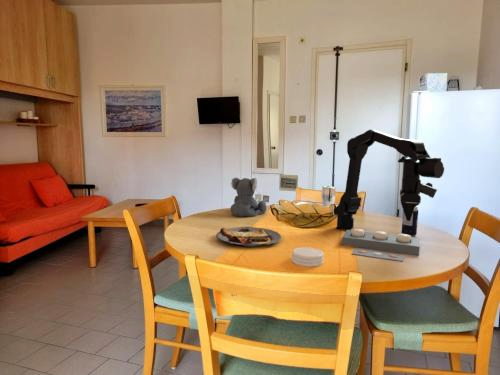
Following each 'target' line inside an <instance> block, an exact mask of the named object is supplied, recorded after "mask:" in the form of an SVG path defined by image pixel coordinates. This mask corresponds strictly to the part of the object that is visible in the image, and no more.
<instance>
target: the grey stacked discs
mask: <svg viewBox="0 0 500 375" xmlns="http://www.w3.org/2000/svg"><path fill="white" fill-rule="evenodd" d="M291 262H292V263H293V264H295V265H297V266H300V267H307V268H313V267H320V266H322V265H323V264H324V252H323V250H320V249H318V248H315V247H309V246H307V247H305V246H304V247H303V246H302V247H301V246H300V247H296V248H294V249H292V250H291Z"/></svg>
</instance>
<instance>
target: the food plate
mask: <svg viewBox="0 0 500 375" xmlns="http://www.w3.org/2000/svg"><path fill="white" fill-rule="evenodd" d="M215 237H216V238H217V240H220V241H221V242H223V243H226V244H227V243H228V244H230V245H233V244H234V245H237V246H239V245H241V246H243V247H251V248H253V247H256V246H259V247H260V246H262V245H263V246H265V245H270V244H276V243H278V242H279V240H280V239H282V235H281V234H280V233H279V232H278V231H275V230H273V229H269V228H264V227H254V226H239V227H238V226H237V227H232V228H226V227H222V228H220V230H219V231H218V232H217V233H216V235H215Z"/></svg>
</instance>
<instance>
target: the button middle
mask: <svg viewBox="0 0 500 375" xmlns="http://www.w3.org/2000/svg"><path fill="white" fill-rule="evenodd" d="M373 233H374V239H383V240H387V234H388V233H387V231H381V230H376V231H374V232H373Z"/></svg>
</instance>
